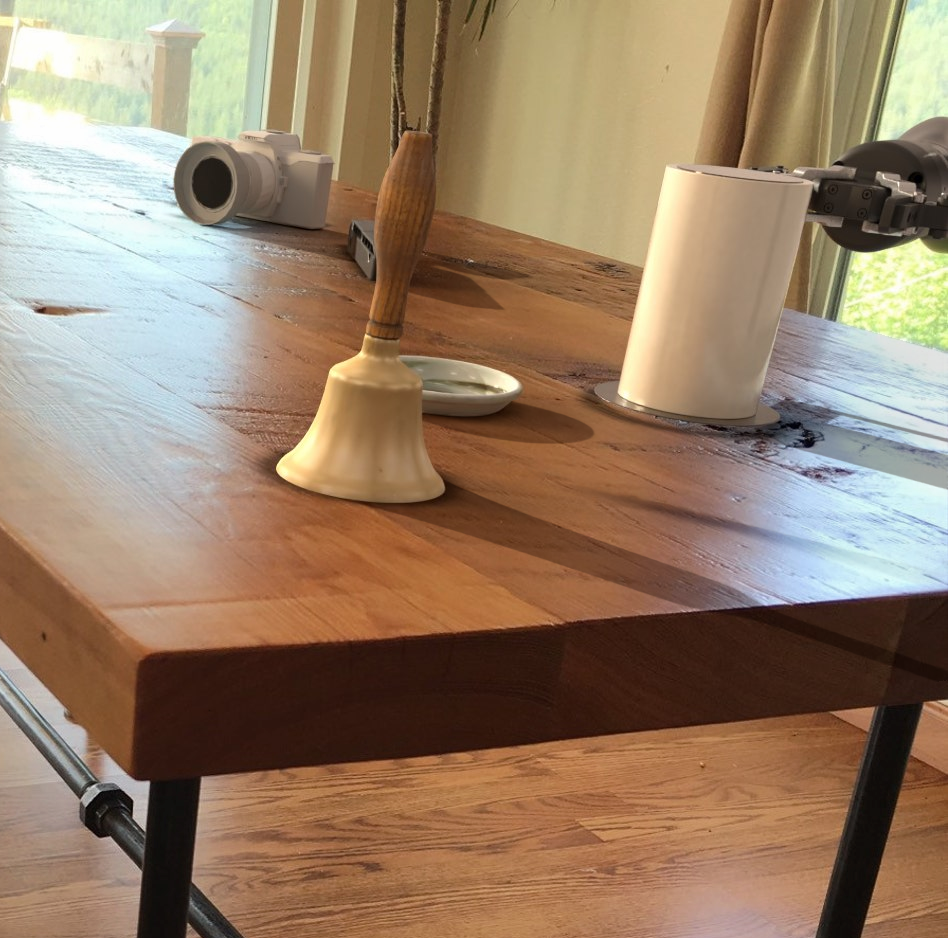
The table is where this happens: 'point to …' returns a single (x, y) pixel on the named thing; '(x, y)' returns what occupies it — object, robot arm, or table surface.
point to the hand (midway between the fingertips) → (820, 205)
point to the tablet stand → (363, 246)
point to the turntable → (611, 395)
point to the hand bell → (379, 364)
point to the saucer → (462, 386)
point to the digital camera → (253, 180)
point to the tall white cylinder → (713, 289)
